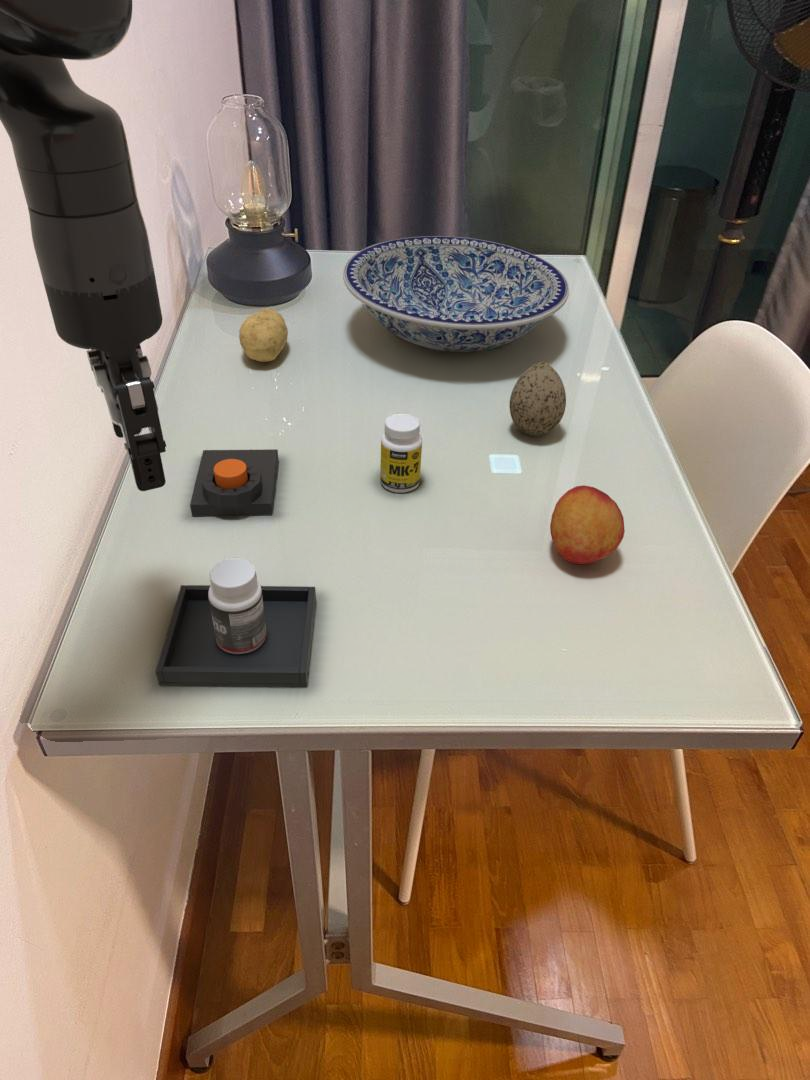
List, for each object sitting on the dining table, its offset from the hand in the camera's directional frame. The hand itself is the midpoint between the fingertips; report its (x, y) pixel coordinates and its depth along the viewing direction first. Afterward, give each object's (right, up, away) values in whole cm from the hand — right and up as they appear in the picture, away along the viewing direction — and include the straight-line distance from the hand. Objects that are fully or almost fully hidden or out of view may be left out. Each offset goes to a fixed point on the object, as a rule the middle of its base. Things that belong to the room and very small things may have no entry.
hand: (139, 459), depth 68 cm
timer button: (+2, 0, +24) cm, 24 cm away
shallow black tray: (+7, -16, +10) cm, 20 cm away
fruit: (+41, -8, +21) cm, 47 cm away
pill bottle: (+7, -16, +9) cm, 20 cm away
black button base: (+2, 0, +29) cm, 29 cm away
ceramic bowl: (+30, +26, +62) cm, 73 cm away
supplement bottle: (+21, 0, +30) cm, 37 cm away
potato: (+1, +21, +55) cm, 59 cm away
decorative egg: (+39, +7, +40) cm, 56 cm away
